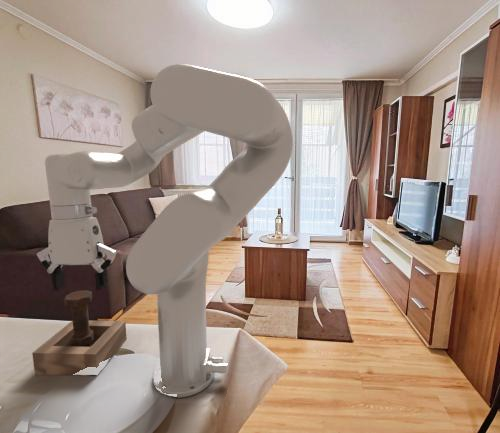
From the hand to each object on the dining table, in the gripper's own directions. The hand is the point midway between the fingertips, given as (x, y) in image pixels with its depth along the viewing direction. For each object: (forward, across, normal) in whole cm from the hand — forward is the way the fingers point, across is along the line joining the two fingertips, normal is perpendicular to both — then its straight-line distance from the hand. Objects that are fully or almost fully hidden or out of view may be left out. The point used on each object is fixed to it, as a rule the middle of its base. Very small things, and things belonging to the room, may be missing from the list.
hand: (80, 288), depth 65 cm
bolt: (+17, +1, 0) cm, 17 cm away
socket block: (+17, +1, 0) cm, 17 cm away
